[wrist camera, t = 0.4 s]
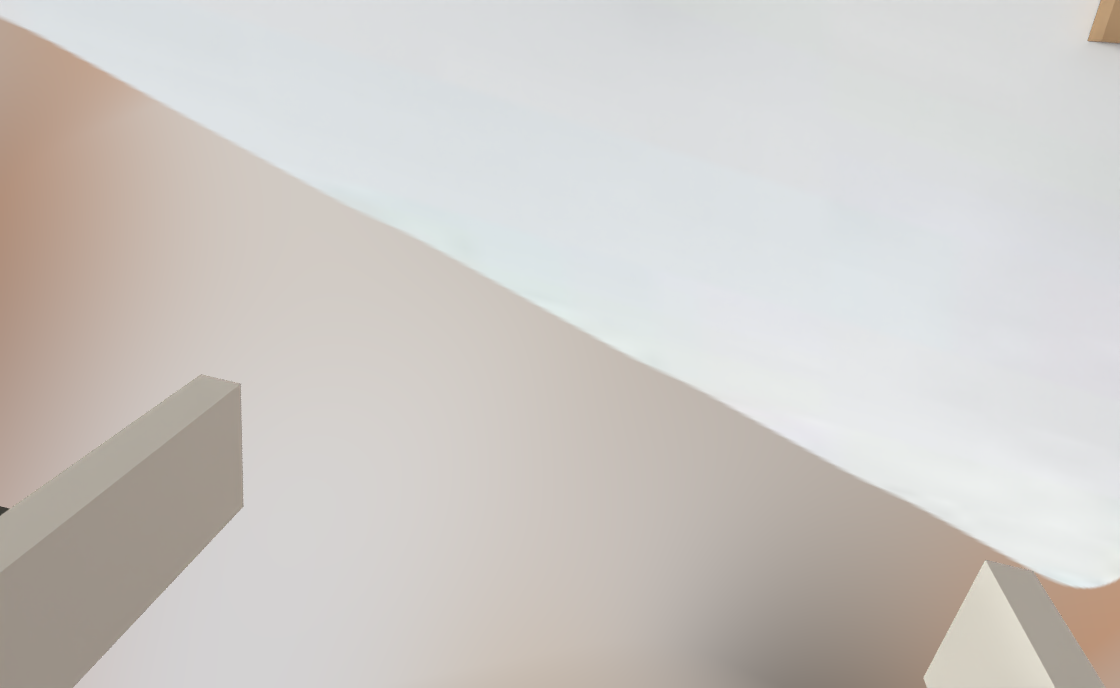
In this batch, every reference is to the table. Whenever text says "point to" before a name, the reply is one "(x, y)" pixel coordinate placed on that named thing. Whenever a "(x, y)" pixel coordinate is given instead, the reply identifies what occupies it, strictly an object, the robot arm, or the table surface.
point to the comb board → (1106, 22)
